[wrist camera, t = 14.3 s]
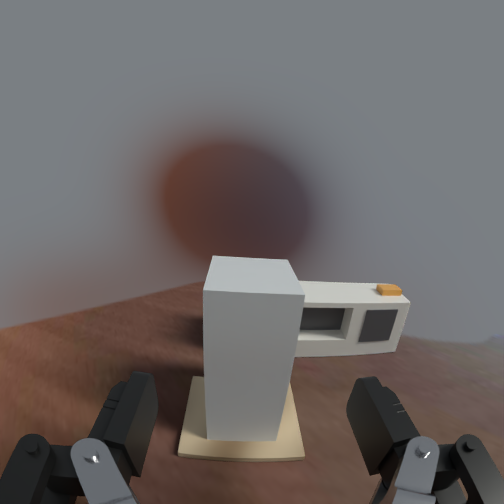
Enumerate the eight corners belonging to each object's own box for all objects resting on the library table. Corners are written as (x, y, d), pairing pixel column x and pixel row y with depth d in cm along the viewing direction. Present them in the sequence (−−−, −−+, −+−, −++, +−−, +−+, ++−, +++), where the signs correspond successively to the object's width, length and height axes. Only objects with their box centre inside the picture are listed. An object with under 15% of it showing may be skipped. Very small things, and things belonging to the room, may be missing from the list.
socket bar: (225, 355, 25) (227, 292, 24) (227, 327, 30) (230, 271, 29) (395, 352, 26) (412, 297, 25) (377, 329, 31) (390, 278, 29)
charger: (207, 439, 15) (203, 289, 12) (213, 374, 22) (215, 246, 19) (276, 441, 16) (305, 294, 12) (267, 376, 22) (282, 250, 19)
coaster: (178, 456, 14) (177, 452, 14) (193, 380, 22) (192, 375, 21) (303, 459, 14) (305, 456, 14) (288, 384, 22) (289, 380, 22)
